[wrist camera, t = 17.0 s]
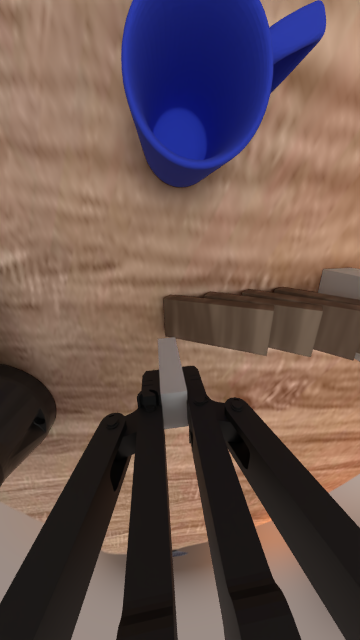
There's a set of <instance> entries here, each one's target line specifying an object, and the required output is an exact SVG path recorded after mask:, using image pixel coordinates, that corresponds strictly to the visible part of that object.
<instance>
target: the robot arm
mask: <svg viewBox="0 0 360 640" xmlns="http://www.w3.org/2000/svg"><path fill="white" fill-rule="evenodd" d="M158 355H159V370H152V371H146V372H145V373H144V375H143V378H142V391H141V392H140V393H139V394H138V396H137V402H138V409H137V410H136V411H134V412H133V413H131V414H129V415H126V416H124V415H122V414H121V413H112V414H109V415H107V416H106V417H105V418H103V420H102V421H101V422H100V424H99V426H98V428H97V430H96V431H95V433H94V435H93V437H92V439H91V440H90V442H89V444H88V446H87V448H86V450H85V451H84V453H83V455H82V457H81V459H80V460H79V462H78V464H77V466H76V468H75V469H74V471H73V473H72V475H71V477H70V478H69V480H68V482H67V484H66V486H65V487H64V489H63V491H62V493H61V495H60V496H59V498H58V500H57V502H56V504H55V506H54V507H53V509H52V511H51V513H50V515H49V516H48V518H47V520H46V522H45V524H44V525H43V527H42V529H41V531H40V533H39V534H38V536H37V538H36V540H35V542H34V544H33V545H32V547H31V549H30V551H29V553H28V554H27V556H26V558H25V560H24V562H23V564H22V565H21V567H20V569H19V571H18V572H17V574H16V577H15V578H14V580H13V582H12V584H11V585H10V587H9V589H8V590H7V592H6V594H5V596H4V598H3V600H2V601H1V603H0V640H71V637H72V634H73V631H74V628H75V625H76V622H77V619H78V616H79V613H80V610H81V607H82V604H83V601H84V598H85V595H86V592H87V589H88V586H89V583H90V580H91V577H92V574H93V571H94V568H95V565H96V562H97V559H98V556H99V553H100V550H101V547H102V544H103V541H104V538H105V535H106V532H107V529H108V526H109V523H110V520H111V516H112V513H113V510H114V507H115V504H116V501H117V498H118V495H119V492H120V489H121V486H122V483H123V480H124V477H125V474H126V471H127V468H128V465H129V462H130V459H131V455H132V454H135V460H134V473H133V485H132V498H131V511H130V523H129V536H128V548H127V561H126V574H125V586H124V587H125V588H124V599H123V610H122V616H121V620H120V624H119V627H118V633H117V639H116V640H178V638H177V622H176V606H175V591H174V576H173V575H174V574H173V559H172V543H171V527H170V511H169V495H168V479H167V463H166V447H165V433H164V429H170V428H177V427H185V426H188V425H189V443H191V447H192V452H193V458H194V464H195V469H196V475H197V480H198V486H199V491H200V497H201V502H202V508H203V514H204V519H205V525H206V530H207V536H208V541H209V547H210V552H211V558H212V564H213V569H214V574H215V580H216V586H217V591H218V597H219V602H220V608H221V613H222V619H223V626H224V635H225V640H301V638H300V635H299V632H298V629H297V627H296V624H295V621H294V618H293V616H292V613H291V611H290V608H289V605H288V603H287V601H286V598H285V596H284V595H283V592H282V591H281V589H280V588H279V587H278V585H277V584H276V583H275V581H274V579H273V577H272V574H271V572H270V569H269V566H268V563H267V560H266V558H265V554H264V552H263V549H262V546H261V543H260V540H259V537H258V535H257V532H256V529H255V526H254V523H253V520H252V517H251V514H250V511H249V509H248V506H247V503H246V500H245V497H244V494H243V491H242V488H241V486H240V483H239V480H238V477H237V474H236V471H235V468H234V465H233V463H232V460H231V457H230V454H229V451H230V453H231V454H232V456H233V458H234V459H235V461H236V462H237V464H238V466H239V467H240V469H241V471H242V472H243V474H244V475H245V477H246V479H247V480H248V482H249V484H250V485H251V487H252V488H253V490H254V492H255V493H256V495H257V496H258V498H259V500H260V501H261V503H262V505H263V506H264V508H265V509H266V511H267V513H268V514H269V516H270V518H271V519H272V521H273V522H274V524H275V526H276V527H277V529H278V530H279V532H280V534H281V535H282V537H283V539H284V540H285V542H286V543H287V545H288V547H289V548H290V550H291V551H292V553H293V555H294V556H295V558H296V560H297V561H298V563H299V565H300V566H301V568H302V569H303V571H304V573H305V574H306V576H307V578H308V579H309V581H310V582H311V584H312V585H313V587H314V589H315V590H316V592H317V594H318V595H319V597H320V599H321V600H322V602H323V603H324V605H325V607H326V608H327V610H328V612H329V613H330V615H331V616H332V618H333V620H334V621H335V623H336V624H337V626H338V628H339V629H340V631H341V633H342V634H343V636H344V637H345V639H346V640H360V528H359V527H358V526H357V525H356V523H355V522H354V521H353V520H352V519H351V518H350V517H349V516H348V515H347V514H346V512H345V511H344V510H343V509H342V508H341V507H340V506H339V505H338V503H336V501H335V500H334V499H333V498H332V497H331V496H330V495H329V493H328V492H327V491H326V490H325V489H324V488H323V487H322V486H321V485H320V484H319V482H318V481H317V480H316V479H315V478H314V477H313V476H312V475H311V474H310V472H309V471H308V470H307V469H306V468H305V467H304V466H303V465H302V464H301V462H300V461H299V460H298V459H297V458H296V457H295V456H294V455H293V454H292V452H291V451H290V450H289V449H288V448H287V447H286V446H285V445H284V444H283V443H282V441H281V440H280V439H279V438H278V437H277V436H276V435H275V434H274V433H273V431H272V430H271V429H270V428H269V427H268V426H267V425H266V424H265V423H264V421H263V420H262V419H261V418H260V417H259V416H258V415H257V414H256V413H255V411H254V410H253V409H252V408H251V407H250V406H249V405H248V404H247V403H246V402H245V401H244V400H242V399H240V398H235V397H234V398H229V399H228V400H227V401H226V402H225V403H221V402H215V401H213V400H211V399H210V398H209V397H208V396H207V395H206V392H205V389H204V386H203V383H202V380H201V377H200V374H199V371H198V369H197V368H196V367H195V366H186V367H182V366H181V361H180V357H179V352H178V348H177V343H176V339H175V337H172V338H161V339H158ZM55 416H56V406H55V402H54V400H53V398H52V396H51V394H50V392H49V391H48V390H47V389H46V387H45V386H44V385H43V384H41V383H40V382H39V381H38V380H37V379H35V378H34V377H32V376H31V375H29V374H27V373H25V372H23V371H21V370H18V369H16V368H13V367H10V366H6V365H2V364H0V486H1V485H2V483H3V482H4V480H5V479H6V478H7V477H8V476H9V475H10V474H11V473H12V472H13V471H14V470H15V469H16V468H17V467H18V466H19V465H20V464H21V463H22V462H23V461H24V460H25V459H26V458H27V456H28V455H29V454H30V453H31V452H32V451H33V450H34V449H35V448H36V447H37V446H38V445H39V444H40V443H41V442H42V441H43V440H44V438H45V437H46V435H47V434H48V432H49V430H50V428H51V426H52V424H53V422H54V420H55ZM228 449H229V451H228Z"/></svg>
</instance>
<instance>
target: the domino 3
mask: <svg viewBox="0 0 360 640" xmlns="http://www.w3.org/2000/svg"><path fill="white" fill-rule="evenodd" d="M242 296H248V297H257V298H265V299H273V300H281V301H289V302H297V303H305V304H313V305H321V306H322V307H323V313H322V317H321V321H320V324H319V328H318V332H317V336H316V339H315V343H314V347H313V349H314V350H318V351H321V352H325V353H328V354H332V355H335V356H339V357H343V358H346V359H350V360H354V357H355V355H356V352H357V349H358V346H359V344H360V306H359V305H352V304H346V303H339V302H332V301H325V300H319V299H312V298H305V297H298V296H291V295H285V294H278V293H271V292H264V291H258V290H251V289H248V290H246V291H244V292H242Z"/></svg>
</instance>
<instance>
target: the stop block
mask: <svg viewBox="0 0 360 640" xmlns="http://www.w3.org/2000/svg"><path fill="white" fill-rule="evenodd" d="M318 293H322V294H328V295H334V296H340V297H346V298H352V299H358V300H360V269H356V268H337V269H323V273H322V277H321V281H320V286H319V290H318ZM354 358H355V359H356V360H358V361H360V354H359V353H356V355H355V357H354Z"/></svg>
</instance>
